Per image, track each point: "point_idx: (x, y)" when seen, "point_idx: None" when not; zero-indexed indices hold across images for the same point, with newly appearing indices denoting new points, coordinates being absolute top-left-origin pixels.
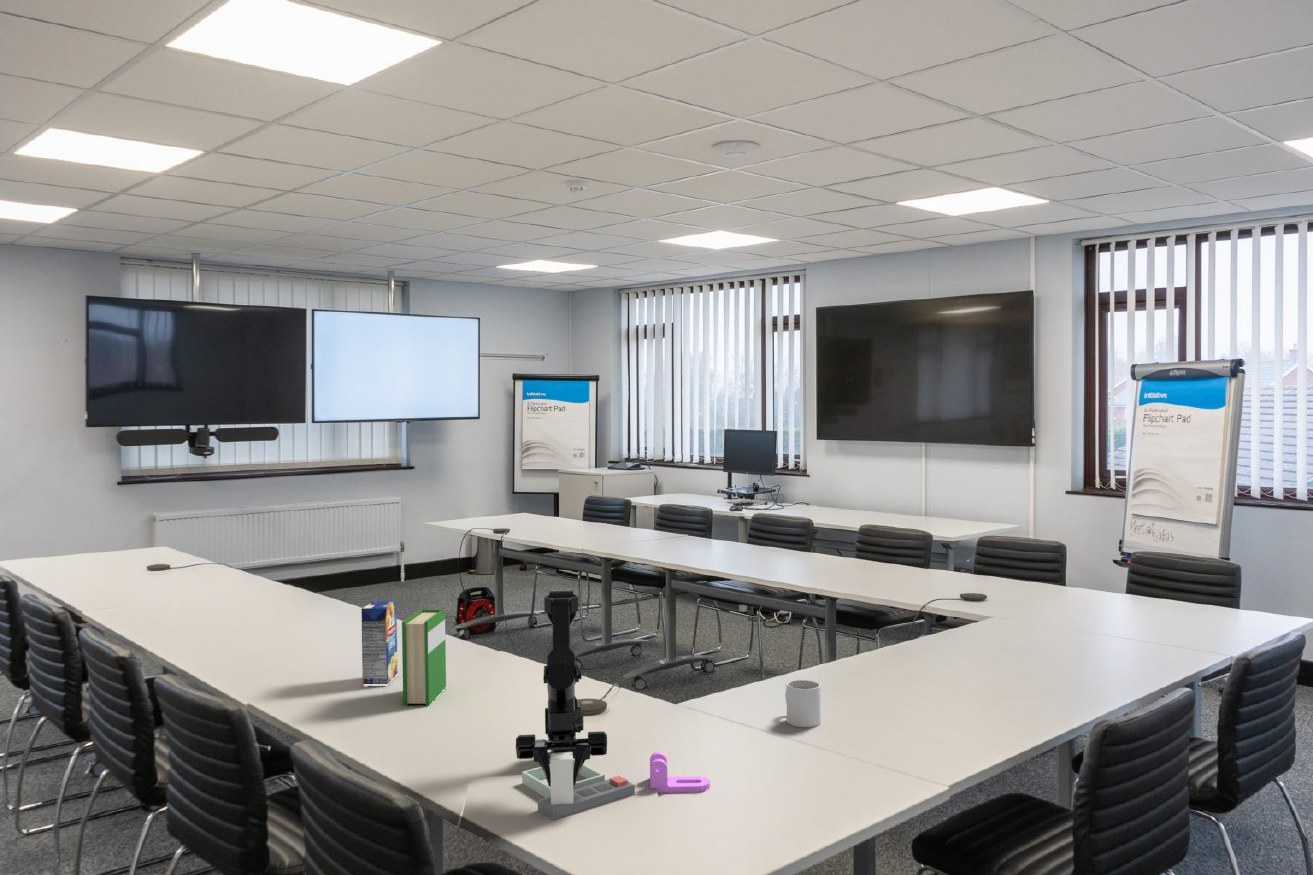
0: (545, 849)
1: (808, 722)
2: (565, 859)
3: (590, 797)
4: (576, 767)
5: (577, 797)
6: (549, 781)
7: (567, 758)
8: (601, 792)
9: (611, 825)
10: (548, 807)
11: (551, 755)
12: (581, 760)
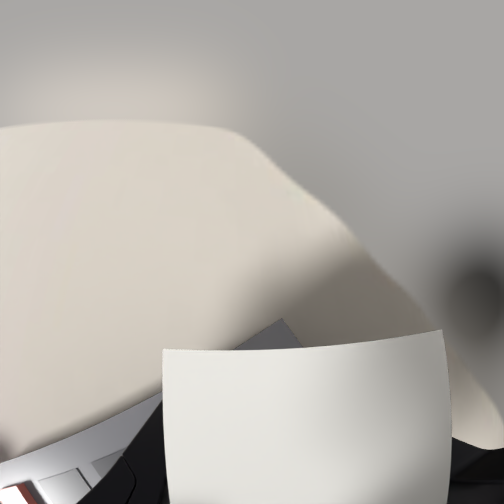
0: (275, 188)
1: None
2: (225, 145)
3: (117, 426)
4: (149, 453)
5: None
6: None
7: (248, 384)
8: (75, 461)
9: (77, 297)
10: (302, 347)
11: (443, 465)
12: (90, 491)
